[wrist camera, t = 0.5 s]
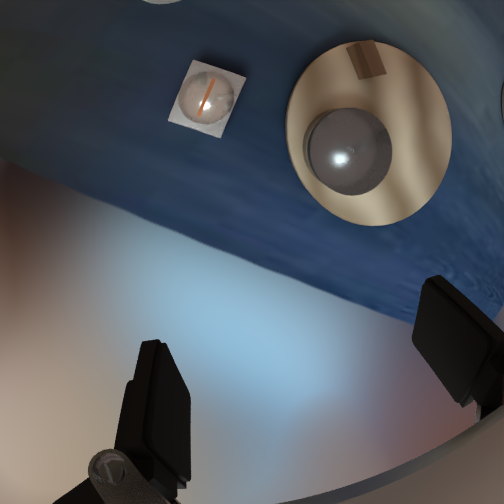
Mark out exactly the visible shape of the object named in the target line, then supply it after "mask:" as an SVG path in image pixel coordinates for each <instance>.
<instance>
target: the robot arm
mask: <svg viewBox="0 0 504 504" xmlns="http://www.w3.org/2000/svg"><path fill="white" fill-rule="evenodd" d="M502 113H503V119H504V86H503V91H502ZM412 342H413V344H414V346H415V347H416V348H417V350H418V351H419V352H420V354H421V355H422V356H423V358H424V359H425V360H426V362H427V363H428V364H429V365H430V367H431V368H432V370H433V371H434V372H435V374H436V375H437V377H438V378H439V379H440V381H441V382H442V384H443V385H444V386H445V388H446V389H447V390H448V392H449V393H450V395H451V396H452V397H453V399H454V401H455V402H457V403H460V405H461V406H462V408H463V407H465V406H466V405H468V404H470V403H471V402H472V401H473V400H475V401H476V402H477V404H476V415H475V423H474V425H473V426H471V427H470V428H468V429H467V430H465V431H464V432H462V433H461V434H459V435H457V436H455V437H454V438H452V439H451V440H449V441H447V442H445V443H443V444H442V445H440V446H438V447H436V448H434V449H432V450H431V451H429V452H427V453H425V454H423V455H421V456H419V457H417V458H415V459H413V460H411V461H408V462H406V463H404V464H402V465H400V466H397V467H395V468H393V469H391V470H388V471H386V472H383V473H381V474H378V475H376V476H373V477H371V478H368V479H365V480H363V481H360V482H357V483H354V484H351V485H348V486H345V487H342V488H339V489H336V490H332V491H329V492H325V493H322V494H318V495H314V496H310V497H306V498H302V499H298V500H293V501H288V502H284V503H279V504H504V332H503V331H502V330H501V329H500V328H499V327H498V326H497V325H495V323H494V322H493V321H492V320H491V319H489V318H488V317H487V316H486V315H485V314H484V313H483V312H482V311H481V310H480V309H479V308H478V307H477V306H476V305H474V304H473V303H472V302H471V301H470V300H469V299H468V298H467V297H466V296H464V295H463V294H462V293H461V292H460V291H459V290H458V289H456V288H455V287H454V286H453V285H452V284H451V283H449V282H448V281H447V280H446V279H445V278H444V277H442V276H441V275H436V276H433V277H430V278H427V279H426V280H425V283H424V284H423V285H422V290H421V296H420V301H419V306H418V311H417V316H416V321H415V325H414V330H413V334H412ZM190 411H191V398H190V393H189V391H188V389H187V386H186V385H185V383H184V380H183V378H182V376H181V374H180V372H179V370H178V368H177V366H176V364H175V362H174V359H173V357H172V355H171V353H170V351H169V348H168V346H167V344H166V343H161V342H160V340H158V339H156V340H149V341H143V342H142V344H141V347H140V351H139V356H138V360H137V364H136V369H135V374H134V378H133V380H131V381H129V382H128V383H127V385H126V389H125V393H124V398H123V403H122V408H121V413H120V418H119V423H118V429H117V434H116V440H115V446H114V449H106V450H102V451H100V452H98V453H97V454H96V455H95V456H94V457H93V458H92V459H91V461H90V463H89V466H88V475H89V478H87V479H86V480H84V481H83V482H82V483H80V484H79V485H78V486H76V487H75V488H73V489H72V490H71V491H69V492H68V493H66V494H65V495H63V496H62V497H60V498H59V499H58V500H56V501H55V502H54V503H53V504H181V503H180V502H179V501H178V500H177V499H176V497H177V489H186V482H187V481H190V480H191V444H190V442H191V439H190V438H191V437H190V423H191V421H190V420H191V419H190V418H191V416H190V415H191V412H190Z"/></svg>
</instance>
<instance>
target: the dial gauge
mask: <svg viewBox="0 0 504 504" xmlns="http://www.w3.org/2000/svg"><path fill="white" fill-rule="evenodd" d="M245 80H246V78H245V77H243V76H240V75H237V74H235V73H232V72H229V71H226V70H223V69H220V68H217V67H214V66H211V65H208V64H205V63H202V62H199V61H195V60H193V61H192V63H191V66H190V68H189V70H188V72H187V75H186V77H185V79H184V81H183V84H182V86H181V89H180V91H179V93H178V96H177V98H176V101H175V103H174V106H173V108H172V111H171V113H170V116H169V119H168V121H171V122H174V123H177V124H180V125H183V126H186V127H189V128H192V129H195V130H198V131H201V132H204V133H207V134H210V135H213V136H215V137H218V138H221V135H222V133H223V131H224V128H225V126H226V123H227V121H228V119H229V116H230V114H231V111H232V109H233V107H234V105H235V102H236V100H237V98H238V95H239V93H240V91H241V89H242V86H243V84H244V82H245Z"/></svg>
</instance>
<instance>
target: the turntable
mask: <svg viewBox="0 0 504 504" xmlns="http://www.w3.org/2000/svg"><path fill="white" fill-rule="evenodd" d="M335 108H359V109H363V110H366V111H368V112H370V113H372V114H373V115H375V116H376V117H377V118H378V119H379V120H380V121H381V122H382V123H383V124H384V126H385V128H386V129H387V131H388V133H389V136H390V139H391V143H392V161H391V165H390V168H389V171H388V173H387V175H386V176H385V178H384V179H383V181H382V182H381V183H380V184H379V185H378V186H377V187H376V188H374V189H373V190H371V191H369V192H367V193H364V194H361V195H356V196H349V195H343V194H340V193H337V192H335V191H333V190H331V189H330V188H328V187H327V186H326V185H324V184H323V183H321V182H320V181H319V180H317V179H316V178H315V177H314V176H313V175H312V174H311V172H310V171H309V169H308V168H307V166H306V163H305V161H304V157H303V149H302V145H303V138H304V134H305V132H306V129H307V128H308V126H309V124H310V123H311V122H312V120H313V119H314V118H315V117H317V116H318V115H319V114H321V113H322V112H324V111H327V110H330V109H335ZM285 136H286V143H287V149H288V153H289V156H290V159H291V163H292V165H293V167H294V169H295V172H296V174H297V176H298V177H299V179H300V181H301V182H302V184H303V186H304V187H305V188H306V189H307V190H308V192H309V193H310V194H311V195H312V196H313V197H314V198H315V199H316V200H317V201H318V202H319V203H320V204H321V205H322V206H323V207H325V208H326V209H327V210H329V211H330V212H331V213H333V214H334V215H336V216H338V217H340V218H342V219H344V220H347V221H349V222H352V223H356V224H361V225H369V226H378V225H386V224H391V223H395V222H397V221H400V220H403V219H405V218H407V217H408V216H410V215H412V214H413V213H415V212H416V211H418V210H419V209H420V208H421V207H422V206H423V205H425V204H426V203H427V202H428V200H429V199H430V198H431V197H432V196H433V194H434V193H435V191H436V190H437V188H438V187H439V185H440V183H441V181H442V179H443V177H444V175H445V172H446V169H447V166H448V163H449V159H450V153H451V143H452V132H451V122H450V117H449V112H448V109H447V105H446V103H445V100H444V98H443V95H442V93H441V91H440V89H439V87H438V86H437V84H436V82H435V81H434V80H433V78H432V77H431V75H430V74H429V73H428V72H427V71H426V69H425V68H424V67H423V66H422V65H421V64H420V63H418V62H417V61H416V60H415V59H414V58H412V57H411V56H409V55H408V54H406V53H405V52H403V51H401V50H399V49H397V48H395V47H393V46H390V45H387V44H384V43H379V42H374V40H367V41H357V42H350V43H346V44H343V45H339V46H337V47H335V48H333V49H331V50H329V51H327V52H325V53H324V54H322V55H321V56H319V57H318V58H316V59H315V60H314V61H313V62H312V63H311V64H310V65H309V66H307V67H306V69H305V70H304V71H303V73H302V74H301V75H300V77H299V78H298V80H297V82H296V84H295V85H294V87H293V90H292V92H291V95H290V98H289V101H288V105H287V110H286V118H285Z"/></svg>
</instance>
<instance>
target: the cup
mask: <svg viewBox="0 0 504 504" xmlns="http://www.w3.org/2000/svg"><path fill="white" fill-rule="evenodd" d="M143 1H146V2H149V3H153V4H167V3H173V2H177V1H180V0H143Z"/></svg>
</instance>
